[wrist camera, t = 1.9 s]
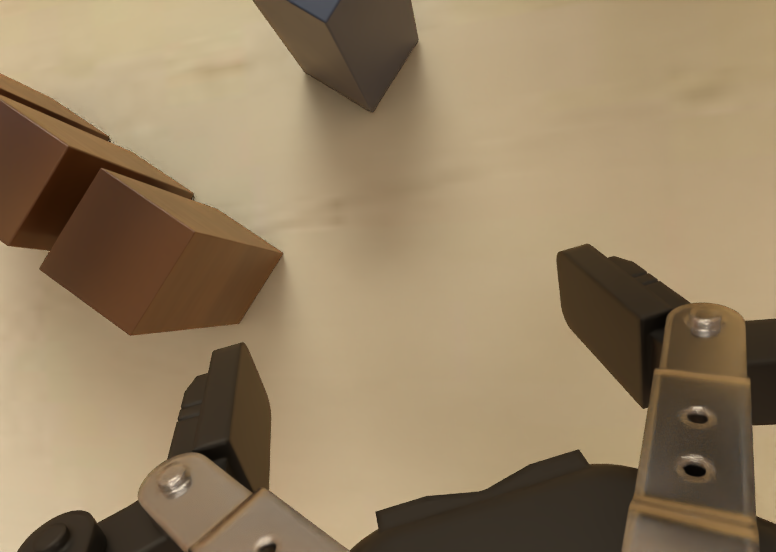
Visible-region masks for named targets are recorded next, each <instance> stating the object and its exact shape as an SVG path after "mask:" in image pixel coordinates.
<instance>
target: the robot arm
mask: <svg viewBox="0 0 776 552" xmlns="http://www.w3.org/2000/svg"><path fill="white" fill-rule="evenodd" d="M556 261H557V271H558V281H559V290H560V300H561V308H562V312H563V315H564V318H565V320H566V322H567V324H568V326H569V327H570V329H571V330H572V331H573V332H574V333H575V334H576V335H577V337H578V338H579V339H580V340H581V341H582V342H583V343H584V344H585V345H586V347H587V348H588V349H589V350H590V351H591V352H592V353H593V354H594V355H595V356H596V358H597V359H598V360H599V361H600V362H601V363H602V364H603V365H604V366H605V368H606V369H607V370H608V371H609V372H610V373H611V374H612V375H613V376H614V377H615V379H616V380H617V381H618V382H619V383H620V384H621V385H622V386H623V387H624V389H625V390H626V391H627V392H628V393H629V394H630V395H631V396H632V397H633V398H634V400H635V401H636V402H637V403H638V404H639V405H640V406H641V407H642V408H643V409H645V408H648V411H647V418H646V424H645V430H644V436H643V442H642V449H641V455H640V461H639V467H638V469H636V468H632V467H627V466H622V465H613V464H588V462H587V461H586V459H585V458H584V456H583V455H582V453H581V452H580V450H579V449H578V450H575V451H572V452H569V453H565V454H562V455H559V456H556V457H552V458H549V459H546V460H543V461H539V462H536V463H533V464H530V465H528V466H526V467H524V468H523V469H521V470H519V471H517V472H516V473H514V474H512V475H510V476H509V477H507V478H505V479H503V480H502V481H500V482H498V483H496V484H495V485H493V486H491V487H489V488H488V489H486V490H483V491H479V492H469V493H458V494H446V495H435V496H425V497H422V498H419V499H416V500H412V501H409V502H406V503H403V504H399V505H396V506H393V507H390V508H386V509H383V510H380V511H376V517H377V523H378V528H379V529H378V530H376V531H374V532H373V533H371V534H369V535H368V536H367V537H365V538H364V539H363V540H361V541H360V542H359V543H358V544H356V545H355V546H354V547H353V548H352V549H351V550H350V551H349V550H348V549H346V548H345V547H344V546H342V545H341V544H340V543H338V542H337V541H336V540H334V539H333V538H332V537H330V536H329V535H328V534H326V533H325V532H324V531H322V530H321V529H320V528H318V527H317V526H316V525H314V524H313V523H312V522H310V521H309V520H308V519H306V518H305V517H304V516H302V515H301V514H300V513H298V512H297V511H296V510H294V509H293V508H292V507H290V506H289V505H288V504H286V503H285V502H284V501H282V500H281V499H280V498H278V497H277V496H276V495H274V494H273V493H272V492H270V491H269V471H270V440H271V409H270V404H269V400H268V396H267V393H266V391H265V388H264V386H263V383H262V381H261V378H260V376H259V374H258V371H257V369H256V366H255V364H254V362H253V359H252V357H251V354H250V352H249V350H248V348H247V346H246V344H245V343H244V342H242V343H238V344H235V345H231V346H228V347H224V348H221V349H218V350H214V351H213V352H212V356H211V361H210V366H209V371H208V373H206V374H203V375H199V376H197V377H196V378H195V379H194V380H193V382H192V383H191V384H190V386H189V387H188V388H187V390H186V391H185V393H184V397H183V401H182V404H181V410H180V412H179V416H178V422H177V424H176V427H175V431H174V435H173V439H172V443H171V447H170V450H169V454H168V458H167V460H166V461H164V462H163V463H161V464H160V465H158V466H157V467H156V468H155V469H153V470H152V471H151V472H150V473H149V474H148V476H147V477H146V478H145V479H144V481H143V482H142V484H141V486H140V488H139V492H138V500H137V501H136V502H135V503H133V504H131V505H130V506H128V507H126V508H124V509H122V510H121V511H119V512H117V513H115V514H113V515H111V516H109V517H108V518H106V519H104V520H102V521H100V522H98V523H97V522H96V521H95V519H94V518H93V516H92V515H91V514H90V513H88V512H86V511H82V510H76V511H70V512H67V513H64V514H61V515H59V516H57V517H55V518H53V519H51V520H49V521H48V522H46V523H45V524H43V525H42V526H41V527H39V528H38V529H37V530H36V531H34V532H33V533H32V534H31V535H30V536H29V537H28V538H27V539H26V540H25V542H24V543H23V544H22V545H21V547H20V548H19V550H18V551H17V552H776V524H774V523H772V522H769V521H767V520H765V519H762V518H760V517H757V516H756V506H755V482H754V457H753V432H752V425H773V424H776V319H765V320H753V321H745V320H744V318H743V317H742V316H741V315H740V314H739V313H738V312H737V311H735V310H733V309H731V308H729V307H726V306H723V305H719V304H713V303H690V302H688V301H687V300H686V299H684V298H683V297H681V296H680V295H679V294H677V293H676V292H674V291H673V290H672V289H670V288H669V287H668V286H666V285H665V284H663V283H662V282H661V281H659V282H658V280H657V279H656V278H655V277H654V276H652V275H651V274H647V272H646V271H645V270H644V269H642V268H641V267H640V266H638V265H637V264H635V263H634V262H632V261H628V260H625V259H622V258H619V257H615V256H612V257H609V258H607V257H606V256H604V255H603V254H602V253H600V252H599V251H598V250H597V249H595V248H594V247H593V246H591V245H590V244H584V245H581V246H577V247H574V248H570V249H567V250H563V251H560V252H558V254H557V260H556Z"/></svg>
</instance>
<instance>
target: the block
mask: <svg viewBox="0 0 776 552" xmlns="http://www.w3.org/2000/svg"><path fill="white" fill-rule="evenodd" d="M253 2H254V3H255V4H256V6H257V7H258V9H259V10H260V11H261V13H262V14H263V15H264V17H265V18H266V20H267V21H268V22H269V24H270V25H271V27H272V28H273V29H274V31H275V32H276V33H277V35H278V36H279V38H280V39H281V40H282V42H283V43H284V44H285V46H286V47H287V49H288V50H289V51H290V53H291V54H292V55H293V57H294V58H295V60H296V61H297V62H298V64H299V65H300V67H301V68H302V69H303V71H304V72H306V73H307V74H309V75H311V76H312V77H314V78H316V79H317V80H319V81H321V82H322V83H324V84H325V85H327V86H329V87H330V88H332V89H334V90H335V91H337V92H339V93H340V94H342V95H344V96H345V97H347V98H348V99H350V100H352V101H353V102H355V103H357V104H358V105H360V106H362V107H363V108H365V109H367V110H368V111H370V112H373V111H374V110H375V108H376V106H377V105H378V103H379V102H380V100H381V99H382V97H383V95H384V94H385V92H386V91H387V89H388V88H389V86H390V84H391V83H392V81H393V80H394V78H395V76H396V75H397V73H398V72H399V70H400V69H401V67H402V65H403V64H404V62H405V61H406V59H407V58H408V56H409V54H410V53H411V51H412V50H413V48H414V47H415V45H416V43H417V42H418V34H417V29H416V24H415V19H414V13H413V8H412V3H411V0H253Z"/></svg>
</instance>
